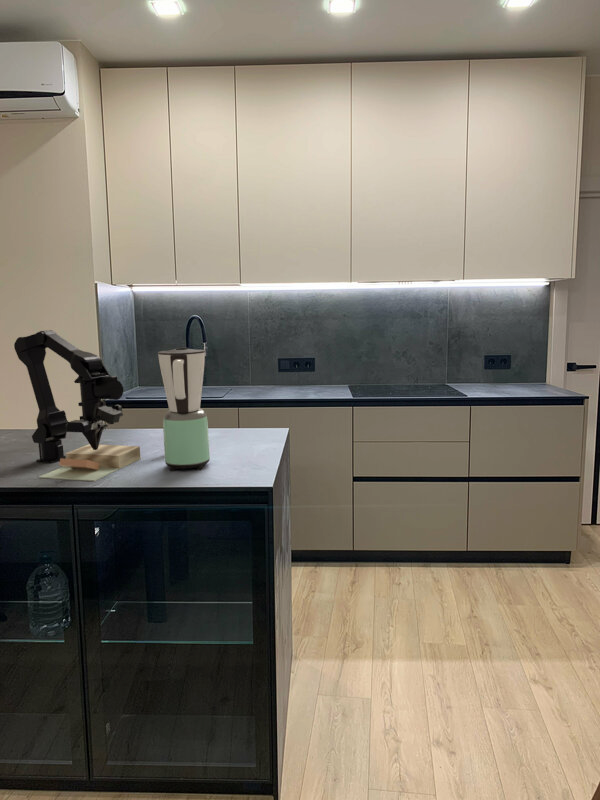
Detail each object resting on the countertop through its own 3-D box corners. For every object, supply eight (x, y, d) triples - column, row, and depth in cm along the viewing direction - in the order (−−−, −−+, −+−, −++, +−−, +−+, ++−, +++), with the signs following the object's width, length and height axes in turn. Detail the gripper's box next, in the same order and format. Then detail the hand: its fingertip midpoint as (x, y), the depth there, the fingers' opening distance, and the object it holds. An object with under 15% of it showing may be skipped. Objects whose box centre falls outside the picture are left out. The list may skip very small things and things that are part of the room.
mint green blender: (168, 460, 186) (161, 346, 180) (211, 457, 187) (206, 345, 181) (160, 477, 167) (152, 351, 162) (208, 474, 168) (202, 349, 163)
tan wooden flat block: (66, 466, 181) (65, 453, 181) (90, 456, 193) (89, 444, 192) (119, 469, 177) (118, 455, 176) (140, 458, 188) (139, 446, 187)
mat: (38, 477, 170) (38, 476, 169) (65, 466, 181) (65, 465, 181) (94, 481, 165) (94, 480, 165) (118, 469, 176) (118, 468, 176)
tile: (73, 461, 178) (72, 468, 178) (60, 458, 172) (59, 465, 172) (99, 463, 175) (98, 470, 175) (87, 459, 170) (86, 466, 169)
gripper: (97, 404, 167) (101, 458, 169) (132, 393, 185) (135, 443, 187) (62, 403, 170) (67, 456, 172) (100, 393, 187) (104, 442, 190)
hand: (95, 449), depth 180 cm, fingers closed
